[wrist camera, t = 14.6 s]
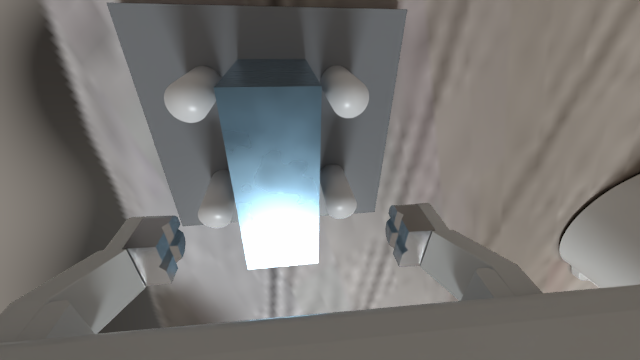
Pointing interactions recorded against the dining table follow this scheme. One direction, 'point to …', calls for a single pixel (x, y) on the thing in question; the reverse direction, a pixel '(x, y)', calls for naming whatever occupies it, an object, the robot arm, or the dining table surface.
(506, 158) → the dining table surface
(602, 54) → the dining table surface
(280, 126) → the block
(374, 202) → the pin tray
